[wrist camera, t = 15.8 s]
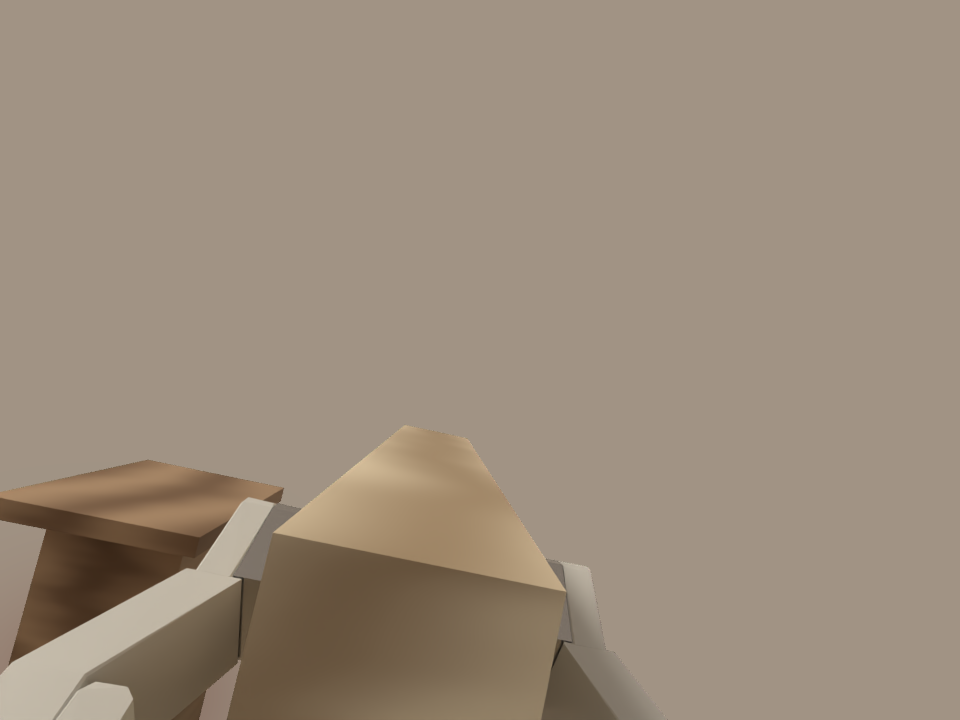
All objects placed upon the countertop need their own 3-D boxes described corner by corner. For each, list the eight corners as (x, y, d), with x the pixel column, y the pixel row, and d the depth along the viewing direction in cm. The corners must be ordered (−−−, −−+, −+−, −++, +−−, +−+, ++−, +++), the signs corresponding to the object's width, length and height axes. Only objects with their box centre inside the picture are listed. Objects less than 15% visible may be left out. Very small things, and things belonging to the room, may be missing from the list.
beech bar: (180, 906, 5) (271, 532, 5) (388, 498, 25) (405, 424, 25) (493, 957, 5) (566, 591, 5) (451, 512, 25) (467, 438, 25)
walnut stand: (-187, 1093, 23) (-14, 495, 25) (48, 831, 37) (147, 459, 39) (49, 1124, 24) (199, 537, 26) (193, 855, 38) (283, 487, 40)
